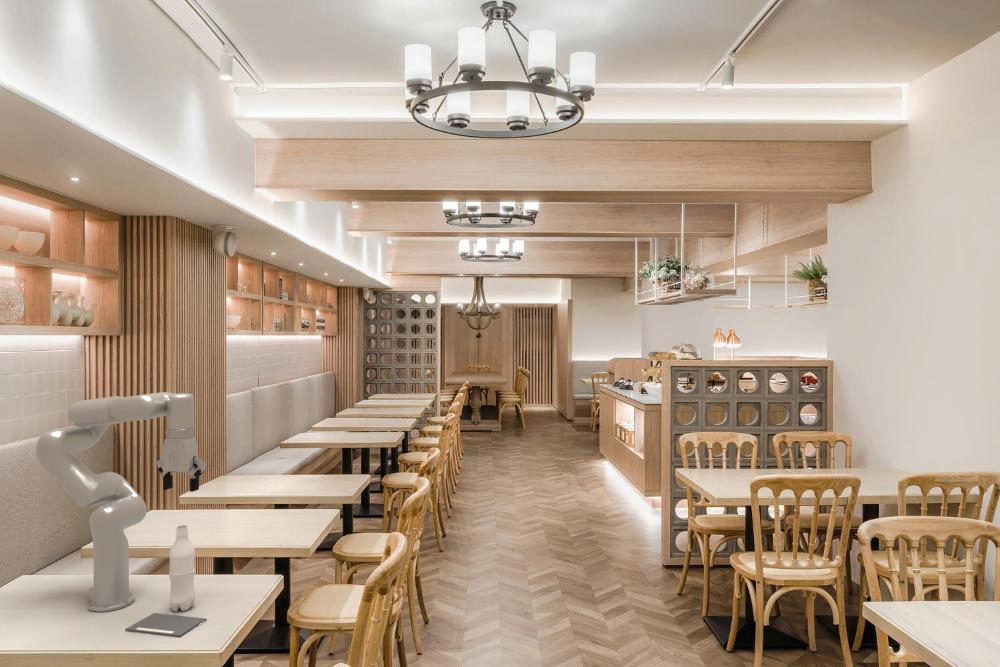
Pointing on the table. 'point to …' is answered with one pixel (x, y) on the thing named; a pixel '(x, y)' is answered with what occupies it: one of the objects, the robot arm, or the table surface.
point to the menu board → (165, 625)
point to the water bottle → (182, 571)
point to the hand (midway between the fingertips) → (181, 489)
